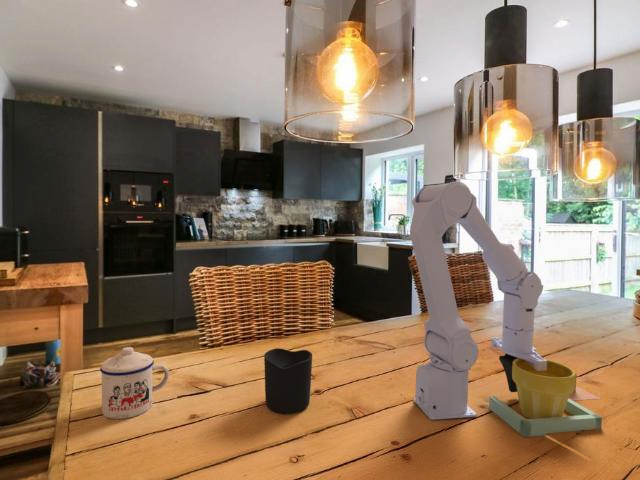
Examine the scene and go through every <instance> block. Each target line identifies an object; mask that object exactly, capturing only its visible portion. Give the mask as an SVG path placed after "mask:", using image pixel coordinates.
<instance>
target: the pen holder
mask: <svg viewBox="0 0 640 480" xmlns="http://www.w3.org/2000/svg"><path fill="white" fill-rule="evenodd" d="M263 355H264V356H263V357H264V361H263V362H264V363H263V364H264V393H265V405H266V407H267V408H268V410H270V411H271V412H273V413H275V414H279V415H295V414H298V413H299V414H300V413H301V412H303V411H305V410H306V409H307V408H308V407H309V405H310V398H311V387H312V386H311V385H312V384H311V383H312V365H313V353H312V352H311V351H310V350H307V349H300V350H295V351H291V350H288V349H286V348H280V347H279V348H277V347H276V348H272V349H270V350H267V351H266V352H265V353H264V354H263Z"/></svg>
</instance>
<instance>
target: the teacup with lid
mask: <svg viewBox="0 0 640 480" xmlns="http://www.w3.org/2000/svg"><path fill="white" fill-rule="evenodd" d="M99 370H100V372H101V413H102V416H105V417H106V418H108V419H113V420H120V419H121V420H123V419H129V418H133V417H136V416H139V415H141V414H144V413H145V412H147V411H148V410H149V409H150V408H151V407H152V405H153V392H156V391H159V390H161V389H162V388H163V387H164V386H165V385H166V384H167V382H168V380H169V377H170V376H169V375H170V371H169V369H168V367H167V366H166V365H164V364H154V358H153V357H152V356H151V355H149V354H146V353H142V352H137V351H134V348H133V347H131V346H126V347H123V348H122V349H121V352H120V353H118V354H116V355H115V356H112V357H109V358H107V359H106V360H105V361H103V362H102V364H101V365H100V368H99ZM157 370H162V371H164V377H163V379H162V380H161V382H160V383H158V384H157V385H155V386H153V371H157Z"/></svg>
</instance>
